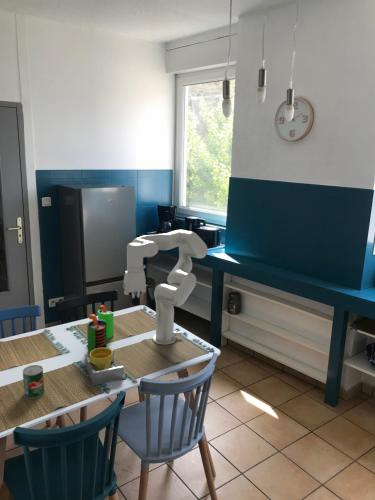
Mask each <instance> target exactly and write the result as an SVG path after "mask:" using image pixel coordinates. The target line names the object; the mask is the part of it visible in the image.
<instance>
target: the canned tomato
mask: <svg viewBox="0 0 375 500" xmlns="http://www.w3.org/2000/svg"><path fill="white" fill-rule="evenodd" d="M22 379H23V391H24V394H23V395H24V397H25V398H27V399H29V400H31V399H32V400H33V399H35V400H36V399H38V398H40V397H42V396H44V394H45V381H44V379H45V378H44V368H43V366H42V365H38V364H33V365H29V366H26V367H25V368H23V370H22Z"/></svg>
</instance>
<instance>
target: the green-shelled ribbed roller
mask: <svg viewBox="0 0 375 500" xmlns="http://www.w3.org/2000/svg"><path fill="white" fill-rule="evenodd" d="M97 320H105V321H107V339H111V338H113V337H114V333H115V331H114V329H115V328H114V325H115V324H114V312H112V311H110V310H107V307H106V306H105V305H104V304H102V305H100V306H99V309H98V310H97Z"/></svg>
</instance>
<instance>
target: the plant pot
mask: <svg viewBox="0 0 375 500" xmlns="http://www.w3.org/2000/svg"><path fill="white" fill-rule="evenodd" d="M112 350H113V349H111V348H109V347H107V348H97V349H94V350H92V351H91V352H90V362H91V363H92V365H93V367H94V369H95V371H99V370H104V369H109V368H111V363H112V362H111V361H112V359H113V352H112Z"/></svg>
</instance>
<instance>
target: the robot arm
mask: <svg viewBox="0 0 375 500" xmlns="http://www.w3.org/2000/svg"><path fill="white" fill-rule="evenodd" d="M175 248H178V251H179V252H178V254H179V256H178V261H177V263H176V265H175V266H174V267H173V268H172V270H171V271H170V272H169V274H168V275H167V279H166V280H167V283H168V284H167V283H160V284H158V285H156V286H155V289H154V293H153V294H154V300H155V334H154V335H153V336H152V341H153V342H154V344H158V345H162V346H163V345H165V346H167V345H172V344H173V343H174V344H175V342H176V341H177V336H181V335H183V333H182V331H181V330H180V331H178V329H175V330H174V324H175V323H174V321H175V308H174V307H181V306H183V305H184V303H185V302H186V301H187V299H188V297H189V296H190V294H191V293H192V292H193V290H194V288H195V287H196V285H197V276H196V275H195V274H194V273H192V272H191V271H192V269H193V262H192V258H195V259H203V258H206V255H208V246H207V244H206V243H205V242H204V240H202V238H201V237H200V236H199V235H198V234H197V233H196V232H194V231H191V230H186V229H176V230H172V231H169V232H166V233H158V234H148V235H142V236H139V237H136V238H134V239H133V240H132V241H131V242H129V243H128V244H127V245H126V270H125V272H124V276H123V290H124V291H123V294H124V295H125V296H129V297H131V304H132V305H133V306H134V307H137V306H138V303H139V298H140V296H141V295H142V294H145V293H146V292H147V284H146V283H147V280H146V274H145V270H144V269H146V267H147V266H146V264H144V258H152V257H155V255H156V254H158V252H159V251H168V250H172V249H175ZM191 257H192V258H191Z"/></svg>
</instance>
